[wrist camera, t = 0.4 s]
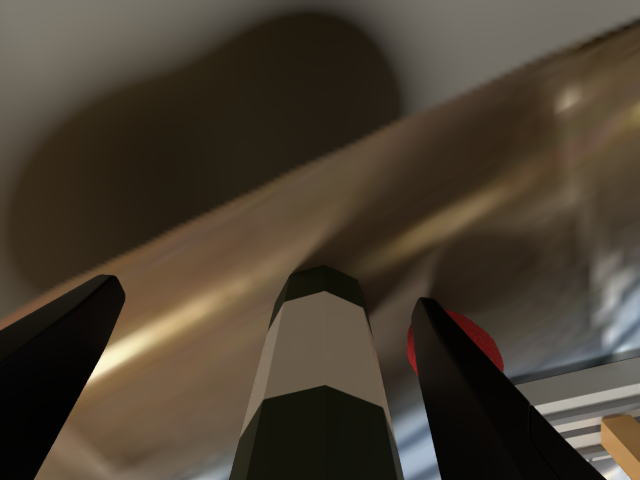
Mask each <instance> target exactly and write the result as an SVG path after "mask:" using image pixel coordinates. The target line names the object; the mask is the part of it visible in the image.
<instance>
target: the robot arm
mask: <svg viewBox="0 0 640 480" xmlns="http://www.w3.org/2000/svg"><path fill="white" fill-rule="evenodd" d="M124 302H125V292H124V290H123V288H122V286H121V284H120V282H119V280H118V278H117V277H116V276H114V275H104V274H102V275H98V276H96V277H94V278H92V279H91V280H89V281H87V282H85V283H83V284H82V285H80V286H78V287H76V288H75V289H73V290H71V291H69V292H68V293H66V294H64V295H62V296H60V297H59V298H57V299H55V300H53V301H52V302H50V303H48V304H46V305H44V306H43V307H41V308H39V309H37V310H36V311H34V312H32V313H30V314H29V315H27V316H25V317H23V318H21V319H20V320H18V321H16V322H14V323H13V324H11V325H9V326H7V327H5V328H4V329H2V330H0V480H34V478H35V477H36V475H37V473H38V471H39V469H40V467H41V466H42V464H43V462H44V460H45V458H46V456H47V455H48V453H49V451H50V449H51V447H52V445H53V444H54V442H55V440H56V438H57V436H58V434H59V433H60V431H61V429H62V427H63V425H64V423H65V422H66V420H67V418H68V416H69V414H70V412H71V410H72V409H73V407H74V405H75V403H76V401H77V399H78V398H79V396H80V394H81V392H82V390H83V388H84V387H85V385H86V383H87V381H88V379H89V377H90V376H91V374H92V372H93V370H94V368H95V366H96V365H97V363H98V361H99V359H100V357H101V355H102V353H103V351H104V349H105V347H106V345H107V343H108V341H109V338H110V336H111V334H112V331H113V329H114V326H115V324H116V322H117V319H118V317H119V314H120V312H121V309H122V307H123V305H124ZM411 322H412V331H413V340H414V349H415V359H416V367H417V373H418V378H419V382H420V387H421V391H422V396H423V400H424V404H425V409H426V413H427V418H428V422H429V427H430V431H431V435H432V440H433V444H434V449H435V453H436V458H437V462H438V466H439V471H440V475H441V480H606V479H605V478H604V477H603V476H602V475H601V474H600V473H599V472H598V471H597V470H596V469H595V468H594V467H593V466H592V465H591V464H590V463H589V462H588V461H587V460H586V459H585V458H584V457H583V456H582V455H581V454H580V453H578V452H577V451H576V450H575V449H574V448H573V447H572V446H571V445H570V444H569V443H568V442H567V441H566V440H565V439H564V438H563V437H562V436H561V434H560V433H559V432H558V431H557V430H556V429H555V428H554V427H553V426H552V425H551V424H550V423H549V422H548V421H547V420H546V419H545V418H544V417H543V416H542V414H541V413H540V412H539V411H538V410H537V409H536V408H535V407H534V406H533V405H530V402H529V401H528V400H527V398H526V397H525V396H524V395H523V394H522V393H521V392H520V391H519V390H518V389H517V388H516V387H515V385H514V384H513V383H512V382H511V381H510V380H509V379H508V378H507V377H506V376H505V375H504V374H503V372H502V371H501V370H500V369H499V368H498V367H497V366H496V365H495V364H494V363H493V362H492V361H491V359H490V358H489V357H488V356H487V355H486V354H485V353H484V352H483V351H482V350H481V349H480V348H479V347H478V345H477V344H476V343H475V342H474V341H473V340H472V339H471V338H470V337H469V336H468V335H467V334H466V332H465V331H464V330H463V329H462V328H461V327H460V326H459V325H458V324H457V323H456V322H455V321H454V319H453V318H452V317H451V316H450V315H449V314H448V313H447V312H446V311H445V310H444V309H443V308H442V306H441V305H440V304H439V303H438V302H437V301H436V300H435V299H433V298H428V297H420V298H419V299H418V301H417V303H416V306H415V308H414V311H413V313H412V318H411Z"/></svg>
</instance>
